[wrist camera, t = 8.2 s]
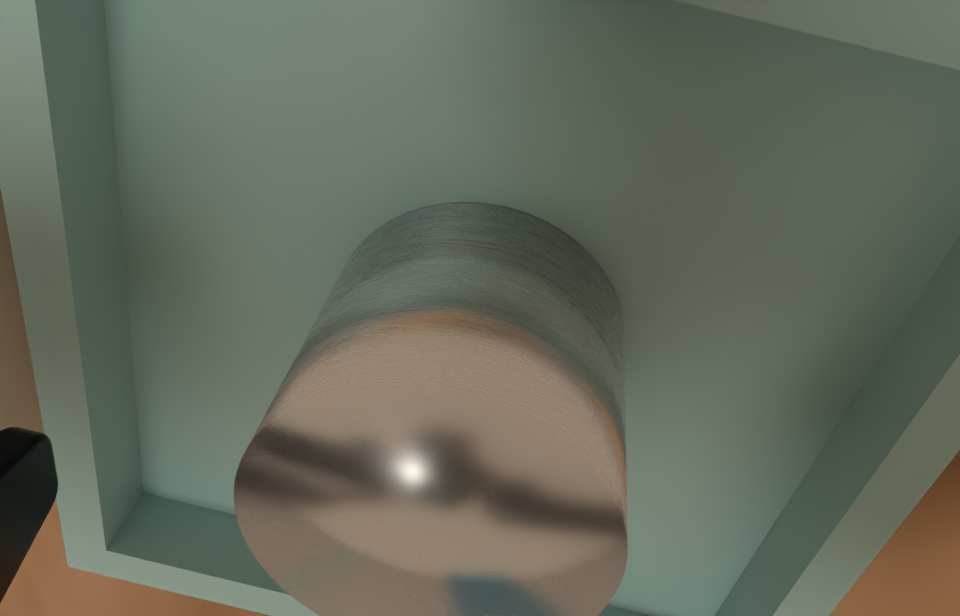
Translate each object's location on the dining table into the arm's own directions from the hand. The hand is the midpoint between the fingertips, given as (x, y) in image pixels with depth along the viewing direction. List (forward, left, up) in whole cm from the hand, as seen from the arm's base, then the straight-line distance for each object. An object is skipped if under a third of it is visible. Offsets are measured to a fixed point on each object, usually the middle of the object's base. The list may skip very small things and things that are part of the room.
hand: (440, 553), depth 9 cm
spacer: (0, 0, -4) cm, 4 cm away
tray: (0, 0, -5) cm, 5 cm away
